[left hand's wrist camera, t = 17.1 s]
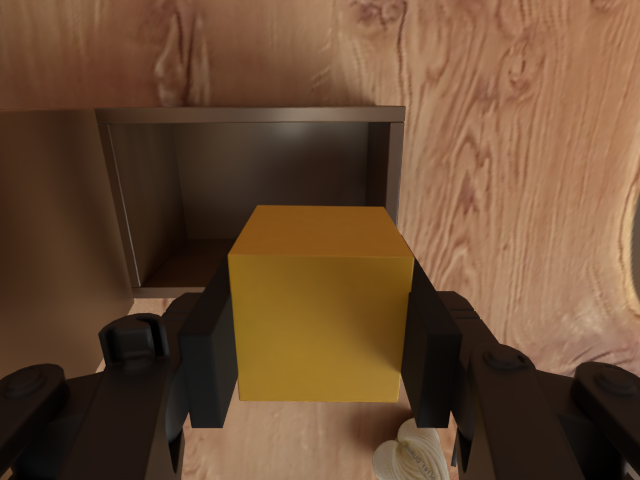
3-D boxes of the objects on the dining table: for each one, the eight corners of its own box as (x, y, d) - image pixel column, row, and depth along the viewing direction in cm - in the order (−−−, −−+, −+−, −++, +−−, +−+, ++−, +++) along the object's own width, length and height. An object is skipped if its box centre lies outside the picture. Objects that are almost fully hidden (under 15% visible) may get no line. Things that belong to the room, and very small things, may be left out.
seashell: (428, 409, 37) (484, 482, 35) (408, 400, 45) (453, 459, 43) (366, 464, 35) (420, 544, 33) (356, 444, 43) (400, 508, 42)
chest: (378, 105, 29) (405, 105, 20) (371, 243, 33) (392, 297, 24) (163, 106, 29) (90, 108, 20) (183, 244, 33) (130, 298, 24)
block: (384, 206, 14) (415, 256, 9) (375, 316, 16) (398, 403, 11) (256, 204, 14) (226, 254, 9) (262, 314, 16) (238, 401, 11)
